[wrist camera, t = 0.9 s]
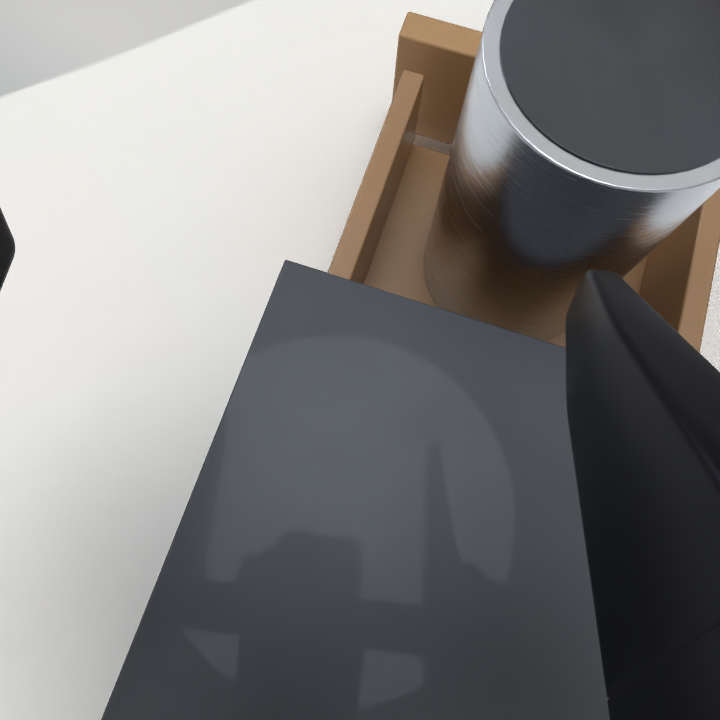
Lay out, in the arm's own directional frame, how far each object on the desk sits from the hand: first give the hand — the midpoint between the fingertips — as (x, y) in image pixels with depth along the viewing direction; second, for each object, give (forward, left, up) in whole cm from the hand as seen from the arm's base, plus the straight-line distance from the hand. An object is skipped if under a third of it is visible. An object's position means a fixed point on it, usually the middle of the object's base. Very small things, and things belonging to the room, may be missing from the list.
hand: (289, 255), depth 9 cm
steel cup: (+5, -8, -14) cm, 17 cm away
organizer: (-6, -2, -15) cm, 17 cm away
